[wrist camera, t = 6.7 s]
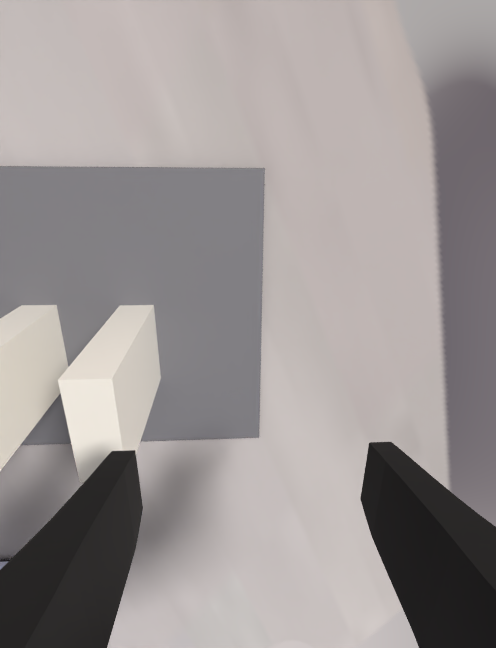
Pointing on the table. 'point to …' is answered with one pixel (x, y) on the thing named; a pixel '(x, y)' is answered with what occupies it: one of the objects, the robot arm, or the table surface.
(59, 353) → the domino
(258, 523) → the table surface
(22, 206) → the runner mat
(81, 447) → the domino
